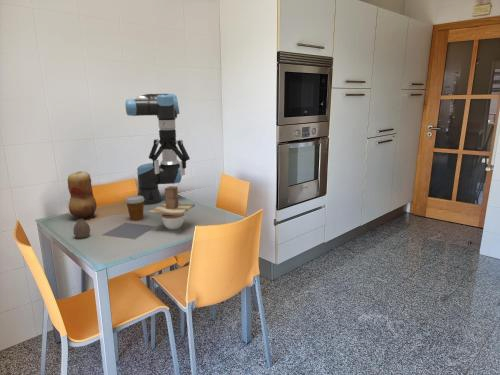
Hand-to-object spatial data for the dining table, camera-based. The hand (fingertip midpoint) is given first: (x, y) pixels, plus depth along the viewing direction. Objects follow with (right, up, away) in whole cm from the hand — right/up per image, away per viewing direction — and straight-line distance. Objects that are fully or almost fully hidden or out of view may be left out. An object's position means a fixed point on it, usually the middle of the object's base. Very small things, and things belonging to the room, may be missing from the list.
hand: (169, 174), depth 171 cm
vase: (-39, -29, -6) cm, 49 cm away
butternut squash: (-51, -23, +22) cm, 60 cm away
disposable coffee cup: (-22, -23, +18) cm, 37 cm away
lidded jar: (+1, -26, +6) cm, 27 cm away
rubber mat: (-20, -27, +1) cm, 33 cm away
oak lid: (0, -17, +3) cm, 17 cm away
